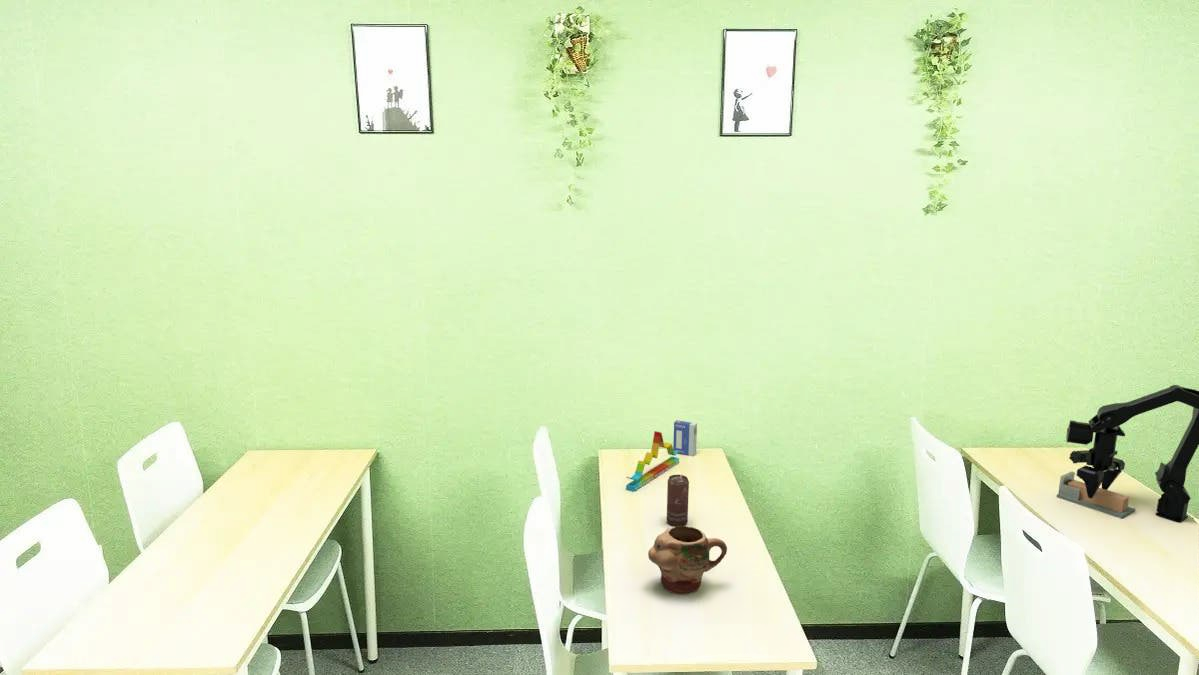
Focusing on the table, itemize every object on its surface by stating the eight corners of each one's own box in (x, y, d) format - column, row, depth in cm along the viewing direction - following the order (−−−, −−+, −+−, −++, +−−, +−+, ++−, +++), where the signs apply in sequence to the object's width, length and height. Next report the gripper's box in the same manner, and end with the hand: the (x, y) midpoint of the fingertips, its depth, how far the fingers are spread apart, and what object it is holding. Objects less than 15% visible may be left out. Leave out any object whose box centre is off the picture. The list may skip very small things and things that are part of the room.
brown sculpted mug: (715, 567, 212) (717, 518, 209) (733, 591, 201) (736, 540, 198) (641, 576, 208) (642, 526, 205) (656, 601, 196) (657, 549, 193)
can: (689, 519, 241) (690, 474, 237) (685, 528, 235) (687, 483, 231) (668, 516, 242) (670, 472, 239) (664, 525, 236) (666, 480, 233)
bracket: (1088, 495, 257) (1091, 477, 256) (1078, 500, 253) (1080, 482, 252) (1069, 488, 262) (1071, 471, 261) (1058, 493, 258) (1060, 476, 257)
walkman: (673, 453, 293) (673, 421, 291) (675, 450, 296) (676, 419, 293) (693, 456, 290) (694, 424, 287) (696, 454, 292) (697, 422, 290)
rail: (1127, 509, 247) (1129, 496, 246) (1121, 512, 245) (1123, 500, 244) (1072, 491, 260) (1074, 479, 259) (1066, 494, 258) (1068, 482, 257)
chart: (634, 492, 259) (635, 448, 256) (626, 490, 261) (626, 446, 258) (679, 463, 284) (680, 422, 281) (671, 461, 286) (672, 421, 283)
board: (1135, 511, 248) (1135, 508, 248) (1121, 518, 243) (1122, 516, 243) (1070, 490, 263) (1070, 488, 263) (1056, 496, 258) (1056, 494, 258)
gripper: (1090, 433, 260) (1084, 479, 264) (1062, 445, 250) (1055, 492, 253) (1128, 443, 251) (1121, 490, 255) (1100, 456, 241) (1093, 505, 244)
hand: (1097, 494), depth 252 cm, fingers open, 9 cm apart
